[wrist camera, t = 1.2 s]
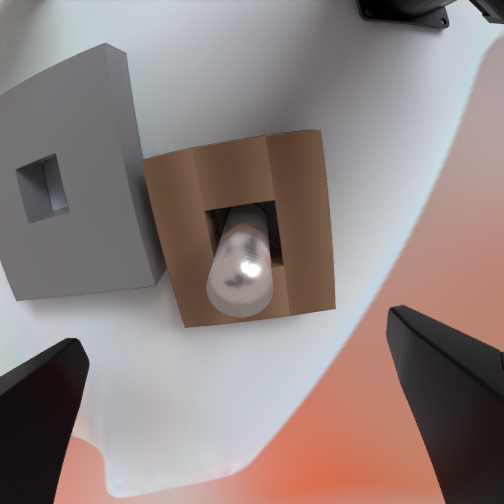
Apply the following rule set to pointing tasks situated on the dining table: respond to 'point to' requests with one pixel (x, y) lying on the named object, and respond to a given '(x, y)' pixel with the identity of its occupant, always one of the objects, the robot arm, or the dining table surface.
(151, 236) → the socket plate
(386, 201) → the dining table surface
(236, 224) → the steel pin
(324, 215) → the walnut mount
